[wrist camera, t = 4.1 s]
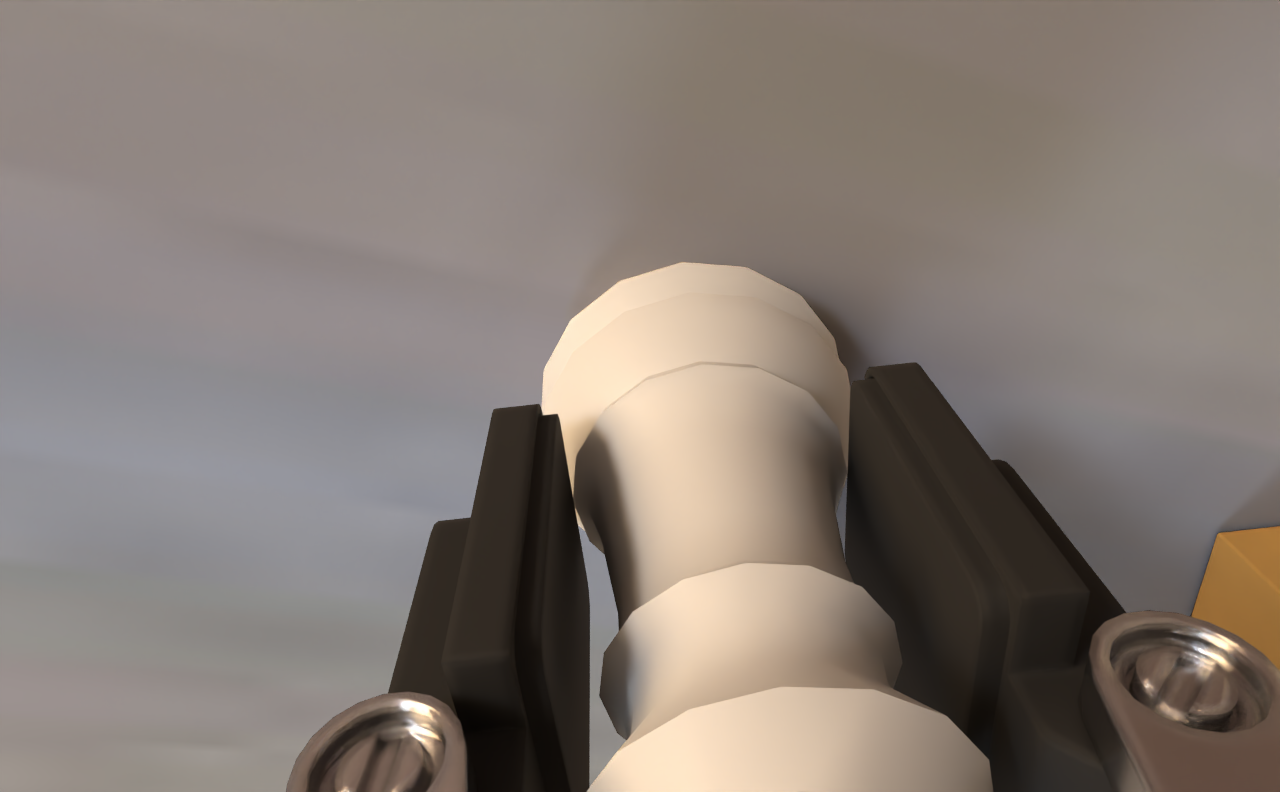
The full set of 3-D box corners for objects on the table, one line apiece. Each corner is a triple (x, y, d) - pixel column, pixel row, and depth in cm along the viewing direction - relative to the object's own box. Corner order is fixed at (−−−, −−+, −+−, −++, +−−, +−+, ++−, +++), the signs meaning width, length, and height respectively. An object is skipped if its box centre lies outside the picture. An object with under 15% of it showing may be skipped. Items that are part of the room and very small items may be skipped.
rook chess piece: (897, 367, 12) (1284, 922, 5) (702, 551, 14) (810, 1163, 7) (674, 182, 11) (817, 628, 4) (482, 413, 12) (342, 1022, 6)
